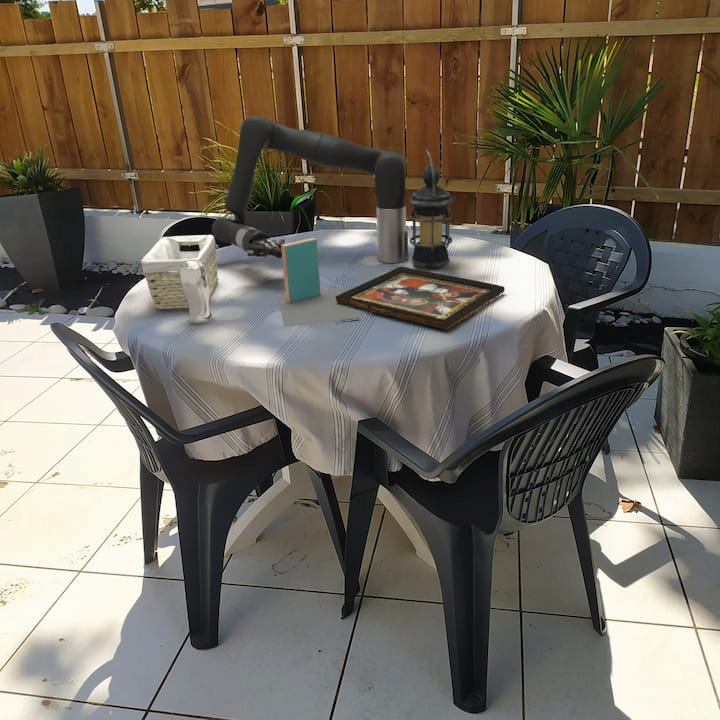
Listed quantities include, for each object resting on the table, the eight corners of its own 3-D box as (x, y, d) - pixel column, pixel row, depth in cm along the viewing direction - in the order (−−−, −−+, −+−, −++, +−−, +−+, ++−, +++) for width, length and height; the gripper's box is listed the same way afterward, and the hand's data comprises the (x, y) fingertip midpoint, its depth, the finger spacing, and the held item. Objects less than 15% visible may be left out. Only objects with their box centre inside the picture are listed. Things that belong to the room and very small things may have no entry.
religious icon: (509, 288, 183) (510, 279, 182) (460, 335, 156) (461, 324, 155) (389, 271, 201) (389, 262, 200) (327, 310, 174) (326, 300, 173)
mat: (343, 289, 189) (343, 287, 188) (358, 320, 167) (358, 318, 167) (277, 296, 186) (277, 294, 185) (284, 328, 164) (284, 326, 164)
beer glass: (217, 314, 175) (209, 260, 168) (209, 324, 169) (201, 268, 162) (192, 314, 176) (183, 260, 169) (183, 324, 170) (174, 269, 163)
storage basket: (207, 310, 178) (199, 257, 172) (147, 312, 179) (137, 260, 172) (222, 281, 200) (216, 233, 193) (169, 283, 200) (161, 236, 194)
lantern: (454, 272, 198) (457, 152, 183) (410, 273, 199) (409, 154, 183) (449, 257, 211) (451, 145, 196) (408, 259, 212) (407, 146, 196)
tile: (286, 301, 180) (281, 244, 173) (317, 293, 185) (313, 237, 178) (290, 303, 178) (284, 246, 171) (321, 295, 183) (317, 239, 176)
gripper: (231, 232, 192) (259, 245, 179) (271, 225, 199) (300, 237, 186) (234, 257, 195) (261, 271, 183) (273, 249, 202) (302, 262, 190)
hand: (281, 254), depth 185 cm, fingers closed
